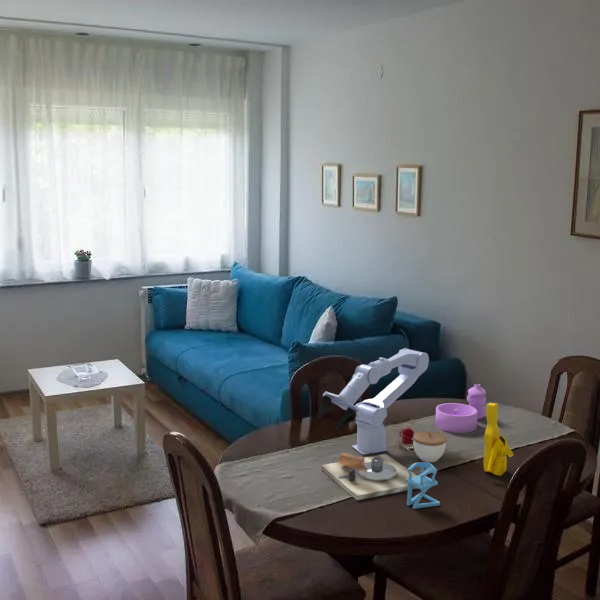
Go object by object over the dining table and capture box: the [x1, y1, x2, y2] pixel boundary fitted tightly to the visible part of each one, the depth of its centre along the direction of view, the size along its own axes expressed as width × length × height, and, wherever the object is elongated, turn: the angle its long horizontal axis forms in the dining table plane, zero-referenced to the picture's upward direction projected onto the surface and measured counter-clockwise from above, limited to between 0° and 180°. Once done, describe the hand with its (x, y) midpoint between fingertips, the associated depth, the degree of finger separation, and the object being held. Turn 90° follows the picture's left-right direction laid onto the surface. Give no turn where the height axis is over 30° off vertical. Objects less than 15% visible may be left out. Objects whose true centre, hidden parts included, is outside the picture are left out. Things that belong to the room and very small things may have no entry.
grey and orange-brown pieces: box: [339, 452, 396, 481], centre depth 233 cm, size 18×12×4 cm, turn 59°
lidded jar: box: [412, 430, 447, 463], centre depth 248 cm, size 11×11×9 cm
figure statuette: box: [483, 402, 514, 476], centre depth 237 cm, size 18×8×22 cm, turn 140°
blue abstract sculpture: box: [406, 461, 441, 510], centre depth 215 cm, size 8×8×12 cm
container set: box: [434, 383, 487, 434], centre depth 282 cm, size 25×15×13 cm, turn 135°
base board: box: [320, 453, 418, 501], centre depth 233 cm, size 24×24×4 cm
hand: (327, 422), depth 239 cm, fingers open, 7 cm apart
